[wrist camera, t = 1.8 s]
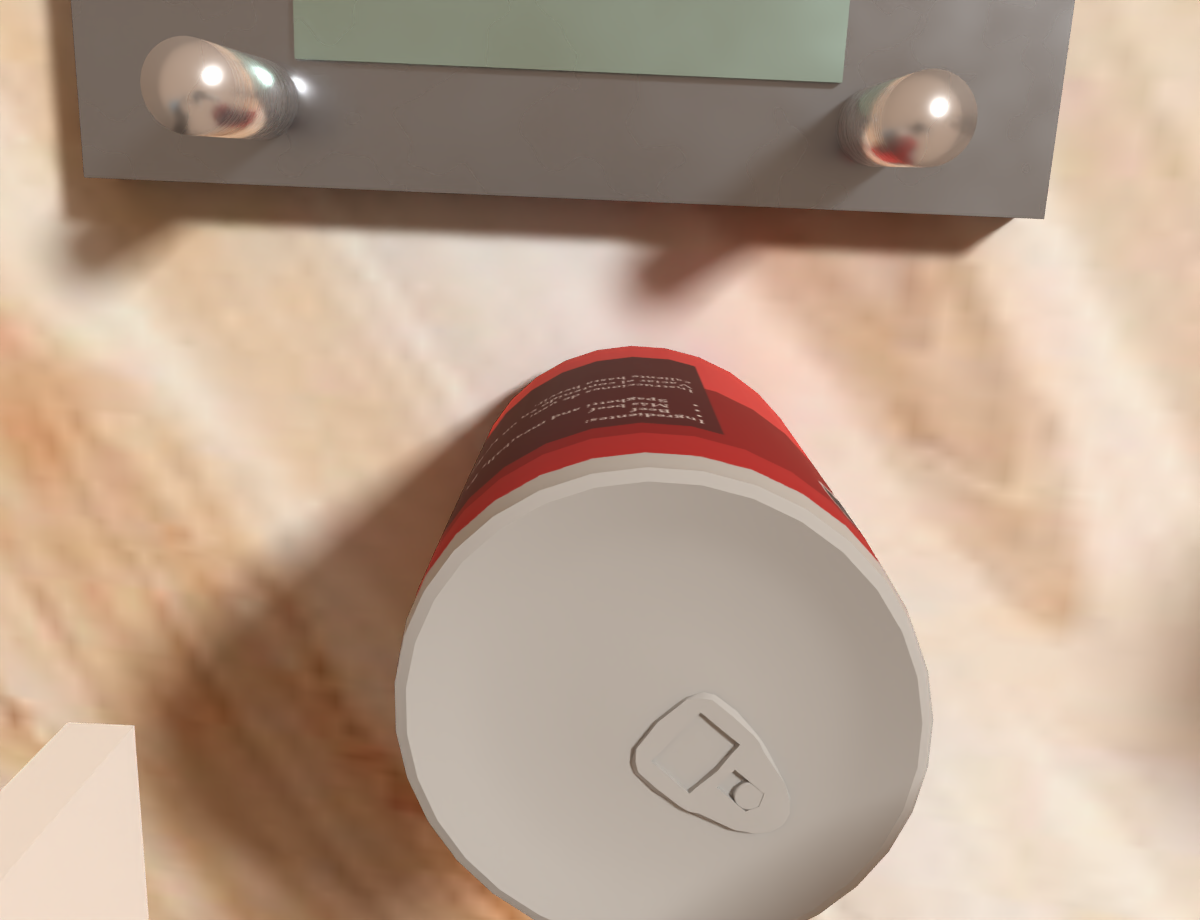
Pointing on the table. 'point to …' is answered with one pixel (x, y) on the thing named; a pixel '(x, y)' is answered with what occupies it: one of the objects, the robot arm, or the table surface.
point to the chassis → (586, 98)
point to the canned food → (658, 659)
